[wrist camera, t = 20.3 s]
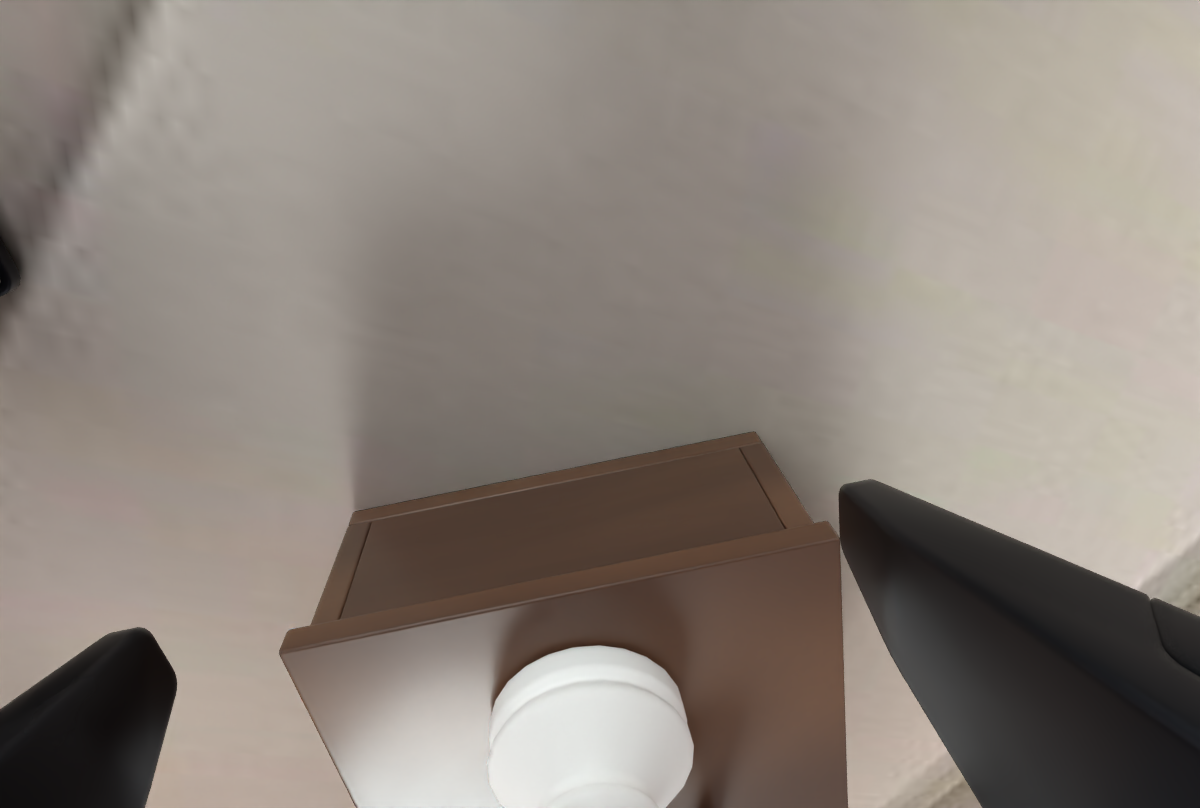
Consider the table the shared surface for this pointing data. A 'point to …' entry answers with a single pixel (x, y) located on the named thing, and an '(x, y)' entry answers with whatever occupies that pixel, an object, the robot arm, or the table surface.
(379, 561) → the chest
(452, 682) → the lid
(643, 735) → the chess pawn
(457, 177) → the table surface
